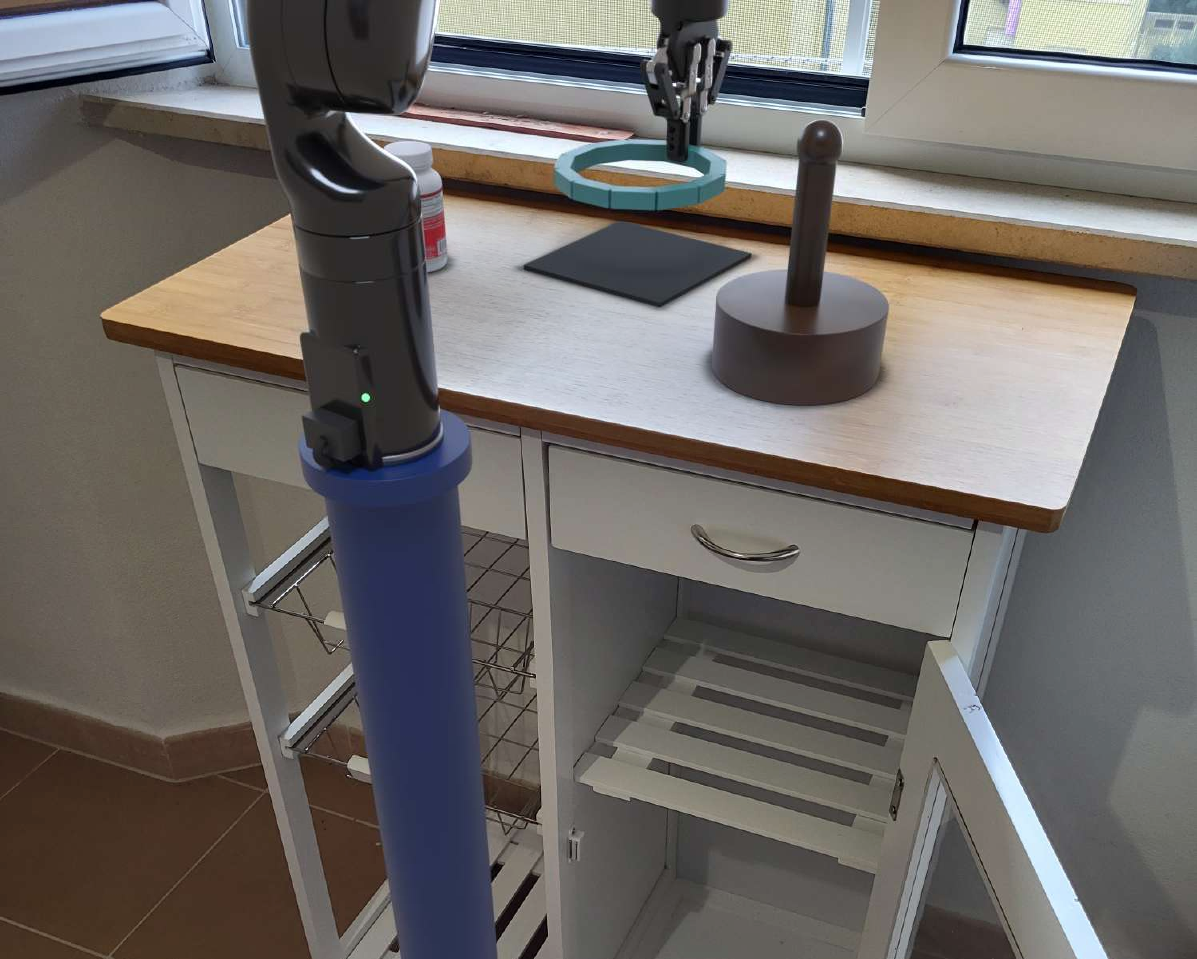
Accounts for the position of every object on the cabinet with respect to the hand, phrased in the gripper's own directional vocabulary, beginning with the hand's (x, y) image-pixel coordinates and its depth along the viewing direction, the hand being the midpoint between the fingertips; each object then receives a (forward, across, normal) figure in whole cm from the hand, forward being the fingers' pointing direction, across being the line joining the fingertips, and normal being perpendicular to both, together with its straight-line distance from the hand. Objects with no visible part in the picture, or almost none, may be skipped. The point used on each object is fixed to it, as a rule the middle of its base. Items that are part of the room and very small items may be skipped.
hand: (682, 157), depth 126 cm
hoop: (+1, +8, 0) cm, 8 cm away
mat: (+8, +8, 0) cm, 11 cm away
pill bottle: (+9, +22, -18) cm, 29 cm away
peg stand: (+8, +21, +26) cm, 34 cm away
